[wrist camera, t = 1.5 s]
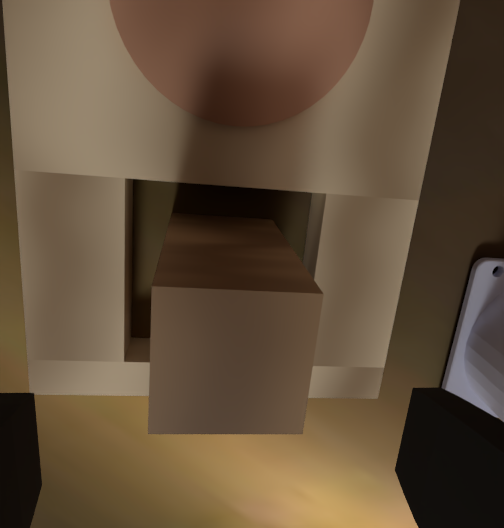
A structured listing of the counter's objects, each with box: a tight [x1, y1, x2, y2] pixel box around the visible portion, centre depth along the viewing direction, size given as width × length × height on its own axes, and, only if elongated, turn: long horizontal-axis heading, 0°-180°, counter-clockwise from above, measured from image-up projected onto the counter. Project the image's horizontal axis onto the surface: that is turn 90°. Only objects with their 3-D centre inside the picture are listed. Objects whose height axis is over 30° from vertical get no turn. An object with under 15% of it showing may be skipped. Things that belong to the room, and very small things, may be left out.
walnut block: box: [148, 213, 324, 434], centre depth 15 cm, size 4×4×8 cm
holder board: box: [2, 0, 460, 399], centre depth 16 cm, size 14×19×2 cm
